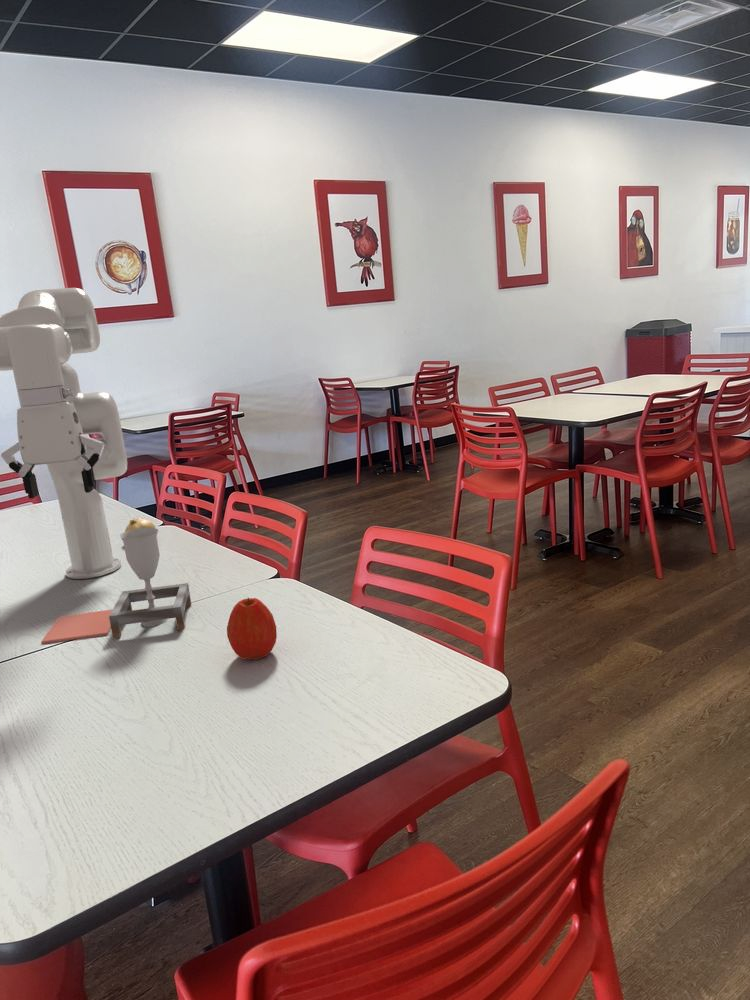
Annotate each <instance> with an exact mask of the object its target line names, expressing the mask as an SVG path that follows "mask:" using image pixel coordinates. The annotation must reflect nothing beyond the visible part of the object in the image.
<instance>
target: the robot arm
mask: <svg viewBox="0 0 750 1000" xmlns="http://www.w3.org/2000/svg"><path fill="white" fill-rule="evenodd" d="M100 342H101V335H100V329H99V324H98V320H97V315H96V310H95V307H94V304H93V302H92V299H91V297H90V296H89V295H88V294H87V292H86V291H84V290H83V289H81V288H77V287H66V288H64V287H63V288H48V289H46V288H45V289H36V290H31V291H29V292H27V293H25V294H24V295H23V296H22V297H21V298H20V300H19V302H18V305H17V308H16V309H13V310H11V311H9V312H6V313H3V314H0V371H3V372H5V371H6V372H7V371H8V372H9V371H12V372H13V376H14V381H15V386H16V390H17V391H16V392H17V396H18V400H19V405H20V406H19V408H18V409H17V411H16V425H17V426H16V427H17V438H18V442H17V443H15V444H14V445H12V446H10V447H9V448H8V449H6V450H4V451H3V452H2V453H0V454H1V455H0V457H1V458H2V460H3V461H4V462H5V463H6V464H7V465H8V467H9V469H11V470H12V471H14V472H15V473H16V474H18V476H19V477H20V478H21V479H22V483H23V488H24V492H25V493H26V494H27V495H28V499H29V500H30V499H31V500H33V499H34V498H36V497H37V496H39V495H40V492H39V487H38V483H37V477H36V474H35V473H34V472H33V470H34V468H35V467H36V465H38V466H39V465H46V466H47V470H48V472H49V474H50V478H51V481H52V482H53V486H54V489H55V492H56V497H57V500H58V504H59V508H60V509H59V510H60V514H61V519H62V523H63V525H62V526H63V528H64V534H65V539H66V544H67V550H68V554H69V559H70V564H71V566H69V567H67V569H65V575H66V577H67V578H69V579H74V580H83V579H84V580H85V579H92V578H97V577H98V578H99V577H103V576H104V575H108V574H111V573H114V572H115V571H117V570H118V569H120V568H121V566H122V563H121V560H120V559H119V558H116V557H114V556H113V551H112V544H111V539H110V534H109V529H108V524H107V519H106V512H105V507H104V501H103V498H102V496H101V494H100V493H99V492H98V491H97V490H96V489H95V487H96V484H97V483H96V480H97V481H98V480H104V479H111V478H117V477H121V476H123V475H124V474H125V473H126V472H127V470H128V457H127V451H126V445H125V441H124V440H125V439H124V435H123V430H122V424H121V418H120V412H119V409H118V405H117V403H116V400H115V398H114V397H113V396H112V395H111V394H110V393H107V392H104V391H98V392H88V393H82V392H81V388H80V382H79V376H78V373H77V371H76V370H75V369H74V367H72V365H70V364H69V363H68V361H69V360H70V358H71V356H72V355H74V354H75V355H76V354H85V353H86V354H87V353H92V352H95V351H96V350H98V348H99V347H100V344H101V343H100ZM94 434H98V435H99V434H100V435H101V436H102V438H97V439H96V438H93V437H89V436H87V435H94ZM18 452H19V453H20V457H21V460H22V462H23V464H22V463H21V462H20V461H18V460H17V459H16V458H15V454H17V453H18Z"/></svg>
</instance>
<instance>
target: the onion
mask: <svg viewBox="0 0 750 1000" xmlns="http://www.w3.org/2000/svg"><path fill="white" fill-rule="evenodd" d="M140 528H155V529H157V528H156V526H155V524H154V522H152V521H150V520H148V519H145V518H135V517H134V518H132V519H130V520H129V523H128V524H127V526H126V527H125V531H124V532H127V531H130V530H134V529H140Z"/></svg>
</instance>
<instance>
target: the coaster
mask: <svg viewBox="0 0 750 1000" xmlns="http://www.w3.org/2000/svg"><path fill="white" fill-rule="evenodd" d="M112 610H113V608H112V609H106V610H100V611H99V610H98V611H92V612H91V611H88V612H83V613H75V614H69V615H61V616H58V617H57V619H56V621H54V623H53V624H52V626H51V627H50V629H49V630H48V631H47V632H46V634H45V636H44V637H43V638H42V640H41V641H40V642H41V644H42V645H43V644H50V643H51V644H52V643H59V642H65V641H71V640H74V641H75V640H81V639H88V638H95V637H102V636H108V635H109V633H110V632H111V631H112V630H111V625H110V620H109V615H110V614H111V612H112Z"/></svg>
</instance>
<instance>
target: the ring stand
mask: <svg viewBox="0 0 750 1000" xmlns="http://www.w3.org/2000/svg"><path fill="white" fill-rule="evenodd" d="M189 586H190V585H189V582H187V583H178V584H176V583H175V584H170V585H169V584H168V585H162V586H155V587H153V586H152V587H153V589H152V594H153V596H155V598H154V600H159V599H167V598H172V597H173V598H174V597H175V600H174V603H173V605H164V606H156V607H155V608H148V607H147V608H141V609H134V610H133V607H132V603H135V602H136V603H137V602H143V601H148V600H147V599H146V597H147V592H146V591H145V590H144V589H145V588H140V589H131V590H125V591H122V592H121V594H120V595H119V597H118V599H117V601H116V603H115V604H114V606H113V608H112V609H113V610H112V609H111V610H112V612H111V614H110V615H109V620H110V625H111V630H110V631H111V634H112V639H113V640H118V639H120V638H121V637H122V634H121V633H122V632H121V628H120V627H121V626H124V625H131V624H139V623H140V624H141V622H148V621H155V620H163V619H167V620H170V619H175V620H176V621H175V622H176V627H177V631H184V630H185V628H186V624H185V618H184V612H185V609H186V607H192V599H191V593H190V588H189Z"/></svg>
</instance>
